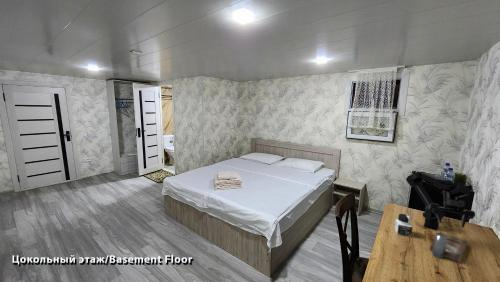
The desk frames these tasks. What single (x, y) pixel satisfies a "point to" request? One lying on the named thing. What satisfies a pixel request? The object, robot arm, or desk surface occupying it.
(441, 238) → the steel peg
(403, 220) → the medicine bottle
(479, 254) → the desk surface
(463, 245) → the bore block
